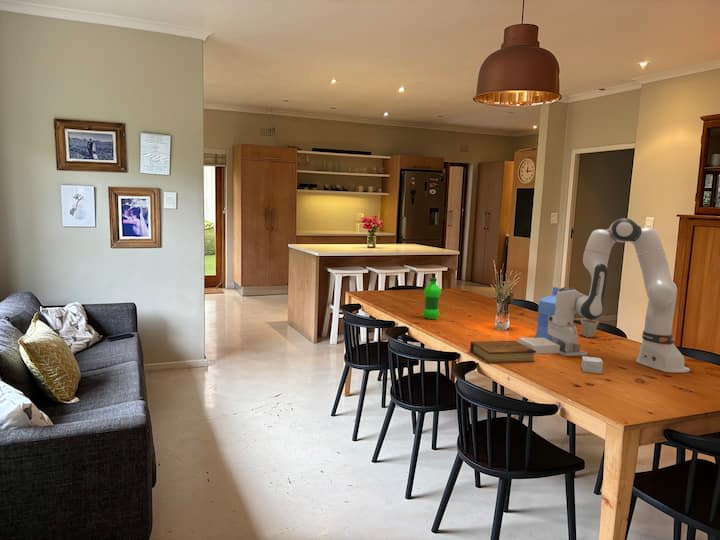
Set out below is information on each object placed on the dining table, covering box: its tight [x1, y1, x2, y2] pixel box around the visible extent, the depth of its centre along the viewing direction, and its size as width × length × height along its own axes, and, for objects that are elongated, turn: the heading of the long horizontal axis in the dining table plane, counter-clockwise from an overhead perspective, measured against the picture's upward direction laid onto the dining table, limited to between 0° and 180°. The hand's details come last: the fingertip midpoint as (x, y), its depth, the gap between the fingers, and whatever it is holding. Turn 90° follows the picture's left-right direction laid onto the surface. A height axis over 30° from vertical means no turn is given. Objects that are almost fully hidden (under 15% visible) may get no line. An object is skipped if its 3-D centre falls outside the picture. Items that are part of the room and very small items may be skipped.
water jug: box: [535, 286, 564, 342], centre depth 279 cm, size 16×16×28 cm
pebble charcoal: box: [557, 342, 566, 352], centre depth 254 cm, size 4×3×4 cm
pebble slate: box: [563, 342, 574, 352], centre depth 255 cm, size 4×3×4 cm
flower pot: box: [580, 318, 600, 338], centre depth 291 cm, size 9×9×9 cm
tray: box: [558, 349, 590, 357], centre depth 255 cm, size 14×13×1 cm
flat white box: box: [517, 337, 560, 355], centre depth 256 cm, size 14×14×4 cm
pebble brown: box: [573, 342, 581, 352], centre depth 256 cm, size 4×3×4 cm
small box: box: [580, 355, 604, 375], centre depth 227 cm, size 8×8×5 cm
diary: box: [469, 340, 536, 364], centre depth 243 cm, size 23×19×6 cm
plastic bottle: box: [422, 277, 442, 320], centre depth 319 cm, size 10×10×25 cm
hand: (560, 348), depth 255 cm, fingers open, 7 cm apart
